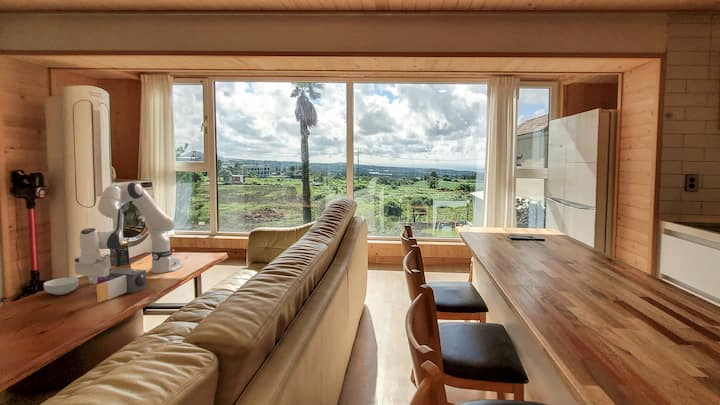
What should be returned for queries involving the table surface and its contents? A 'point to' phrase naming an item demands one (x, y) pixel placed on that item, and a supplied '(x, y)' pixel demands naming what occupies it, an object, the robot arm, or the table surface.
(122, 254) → the whiskey bottle
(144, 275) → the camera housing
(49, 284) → the cereal bowl
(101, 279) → the candy bar box
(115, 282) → the side door
